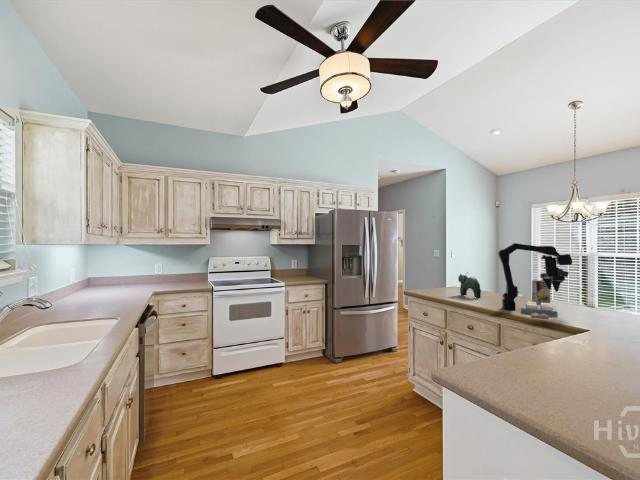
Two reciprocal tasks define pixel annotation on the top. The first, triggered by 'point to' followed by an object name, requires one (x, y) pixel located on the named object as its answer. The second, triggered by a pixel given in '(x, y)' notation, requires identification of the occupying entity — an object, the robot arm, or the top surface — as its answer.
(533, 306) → the button front left
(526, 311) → the control panel
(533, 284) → the coffee box
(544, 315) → the pattern card
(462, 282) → the ceramic cat
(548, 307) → the button front right
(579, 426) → the top surface
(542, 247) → the robot arm
